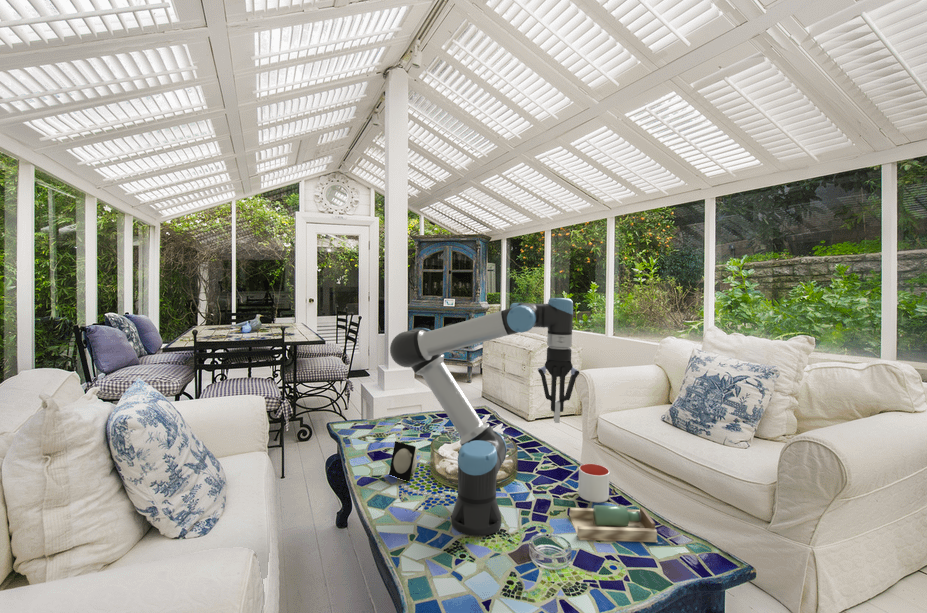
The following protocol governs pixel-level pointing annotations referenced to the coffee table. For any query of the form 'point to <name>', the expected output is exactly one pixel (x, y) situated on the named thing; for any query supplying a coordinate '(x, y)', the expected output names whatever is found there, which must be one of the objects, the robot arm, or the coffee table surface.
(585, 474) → the cup
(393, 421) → the coffee table surface
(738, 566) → the coffee table surface
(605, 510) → the bottle
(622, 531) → the wooden tray
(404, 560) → the coffee table surface
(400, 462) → the decorative object
